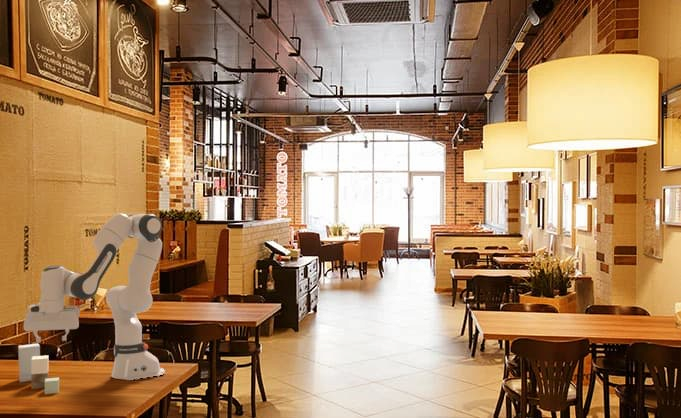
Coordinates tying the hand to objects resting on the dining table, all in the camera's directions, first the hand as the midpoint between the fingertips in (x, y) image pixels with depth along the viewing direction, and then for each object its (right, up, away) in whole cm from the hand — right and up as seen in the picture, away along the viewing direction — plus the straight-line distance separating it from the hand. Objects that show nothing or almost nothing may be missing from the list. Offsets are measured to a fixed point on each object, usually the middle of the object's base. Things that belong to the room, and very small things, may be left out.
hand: (51, 341), depth 258 cm
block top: (-8, -14, +7) cm, 18 cm away
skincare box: (-17, -20, +18) cm, 32 cm away
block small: (0, -20, 0) cm, 20 cm away
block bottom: (-8, -20, +7) cm, 23 cm away
